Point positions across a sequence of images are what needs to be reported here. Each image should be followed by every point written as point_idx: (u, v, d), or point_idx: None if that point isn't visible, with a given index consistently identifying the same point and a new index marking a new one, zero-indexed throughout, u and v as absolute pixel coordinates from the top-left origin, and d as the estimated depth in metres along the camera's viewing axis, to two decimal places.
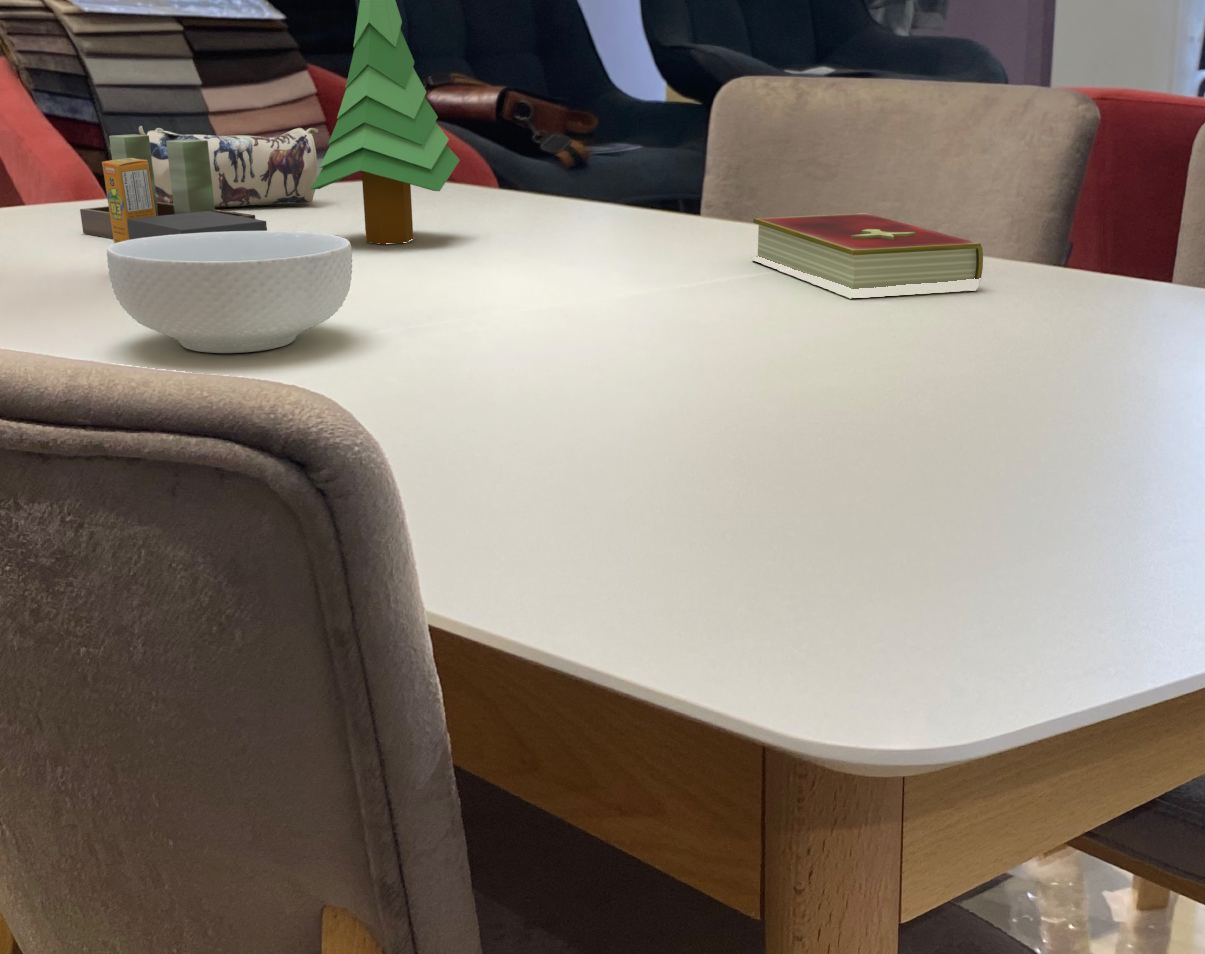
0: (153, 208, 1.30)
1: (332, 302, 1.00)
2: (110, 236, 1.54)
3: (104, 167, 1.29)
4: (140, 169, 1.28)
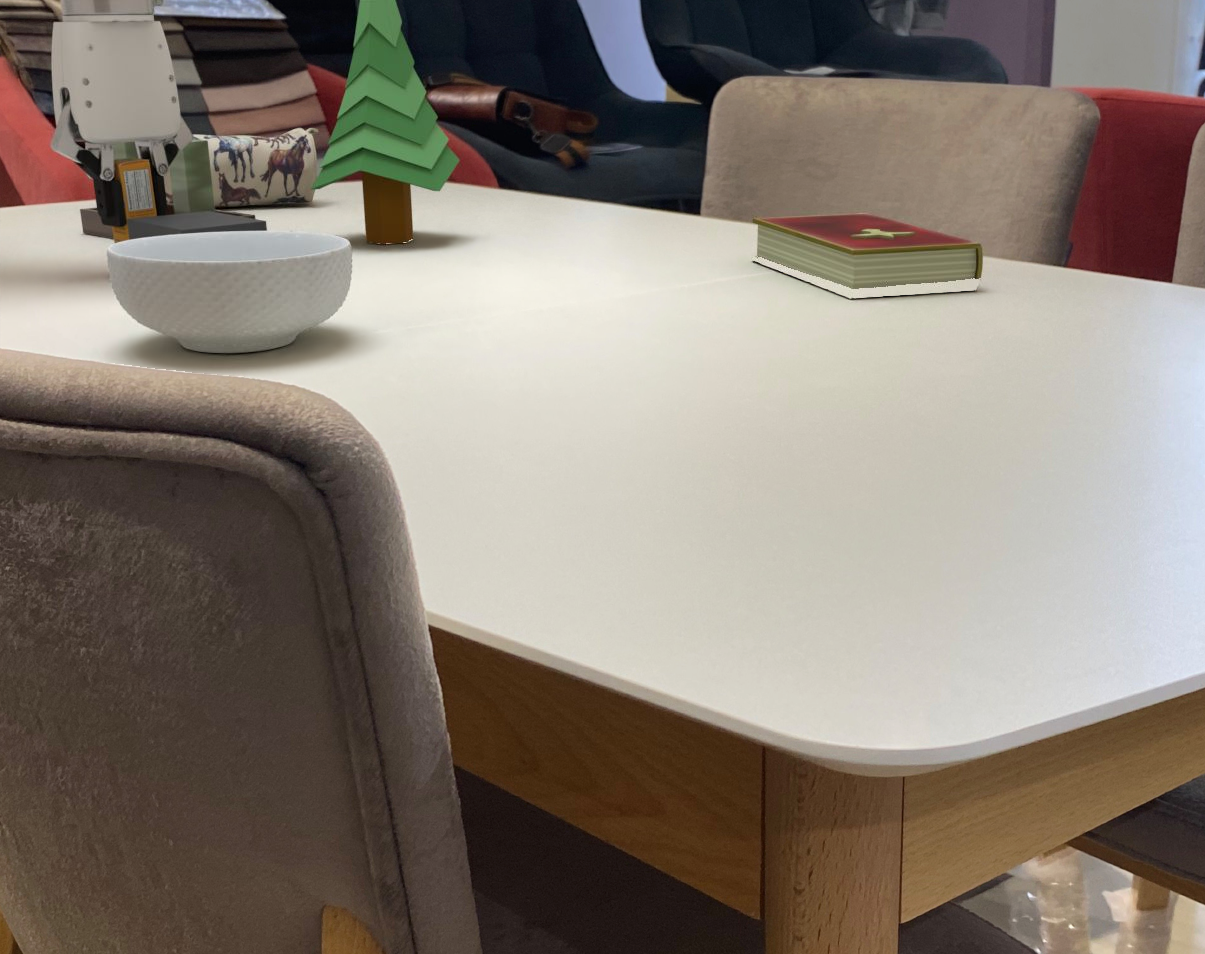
0: (154, 208, 1.30)
1: (332, 302, 1.00)
2: (110, 236, 1.54)
3: None
4: (141, 169, 1.28)
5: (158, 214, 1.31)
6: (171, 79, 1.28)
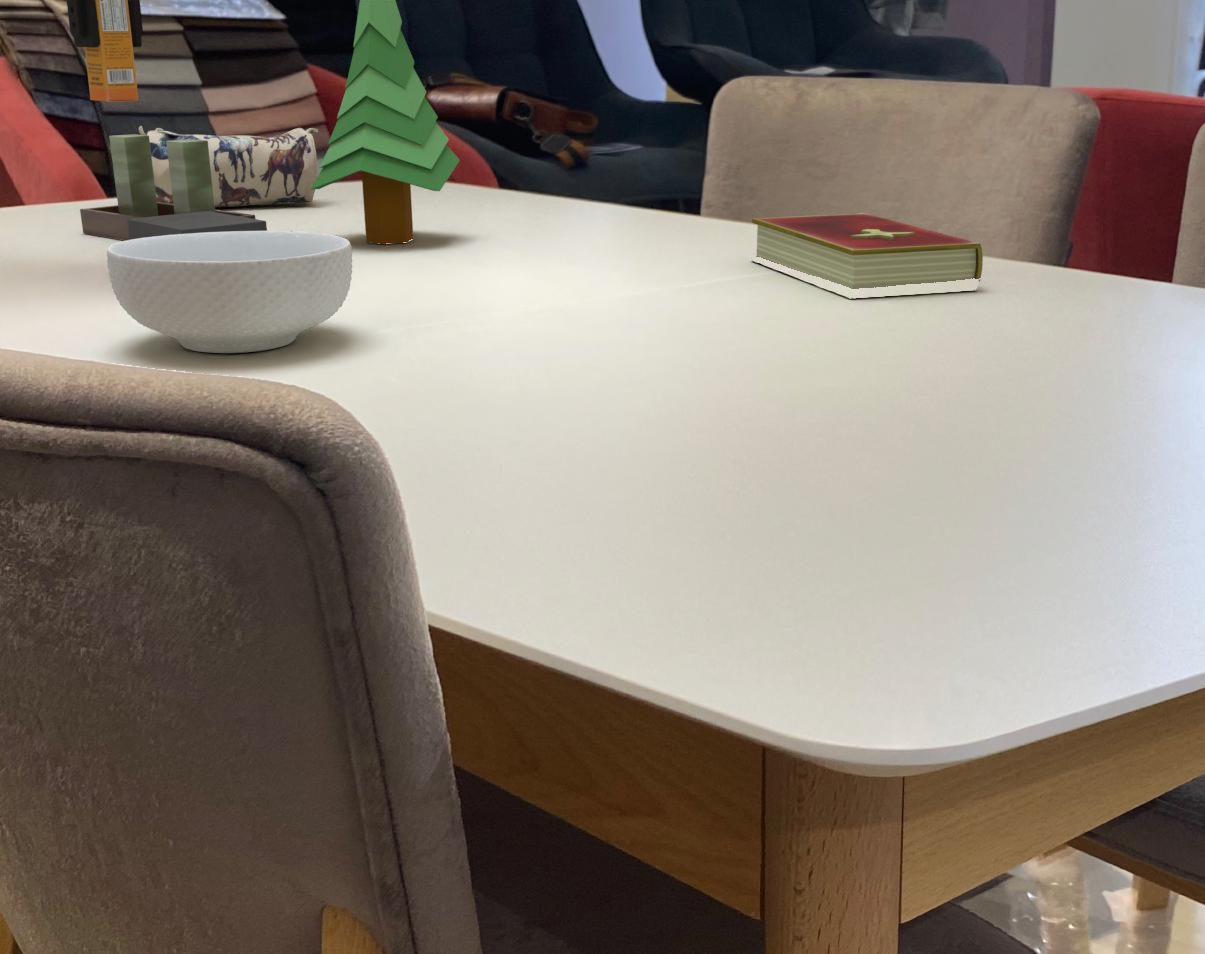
0: (129, 31, 1.25)
1: (332, 302, 1.00)
2: (110, 236, 1.54)
3: None
4: None
5: (133, 38, 1.26)
6: None
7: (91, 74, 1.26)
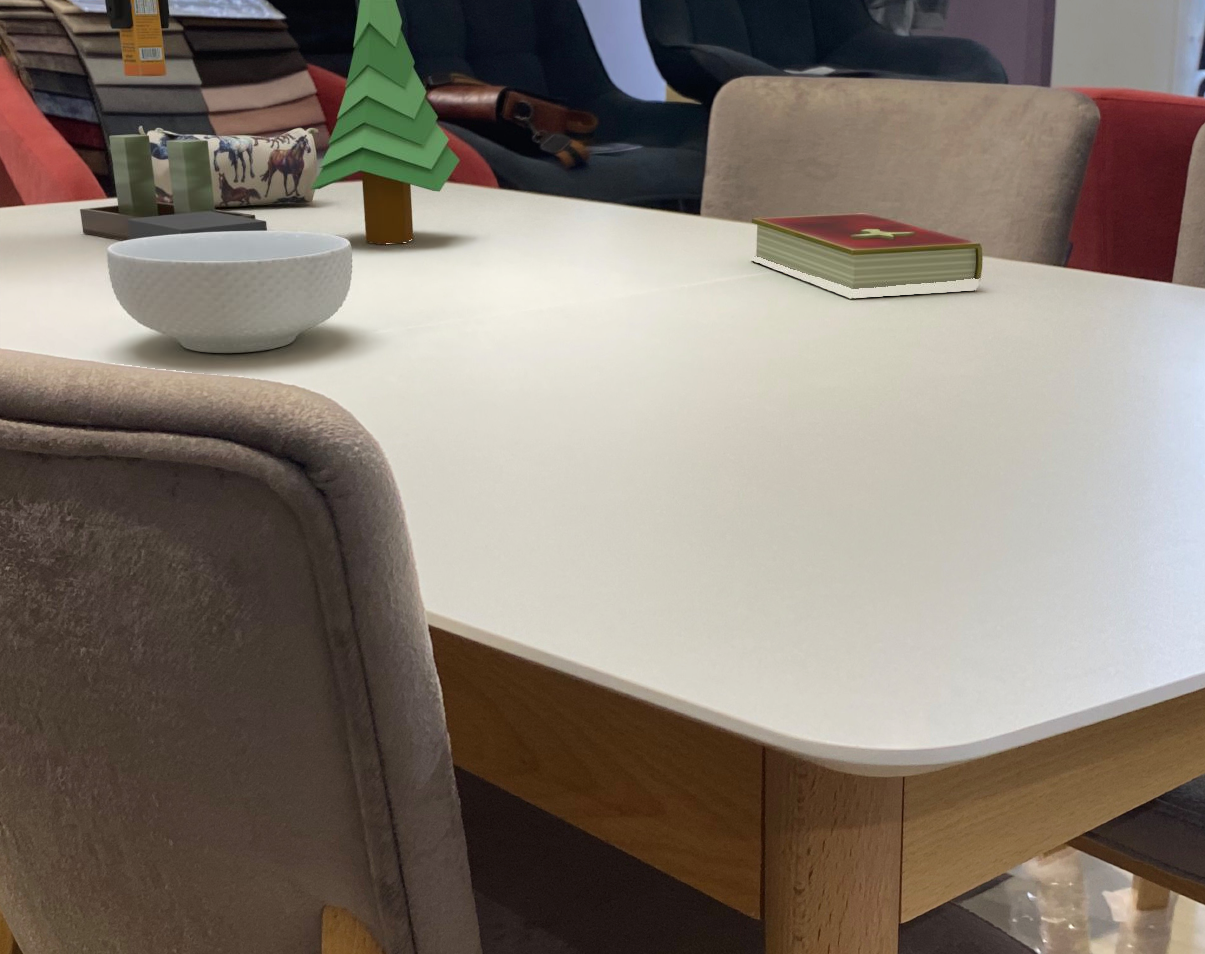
0: (158, 14, 1.44)
1: (332, 302, 1.00)
2: (110, 236, 1.54)
3: None
4: None
5: (161, 20, 1.44)
6: None
7: (125, 52, 1.45)
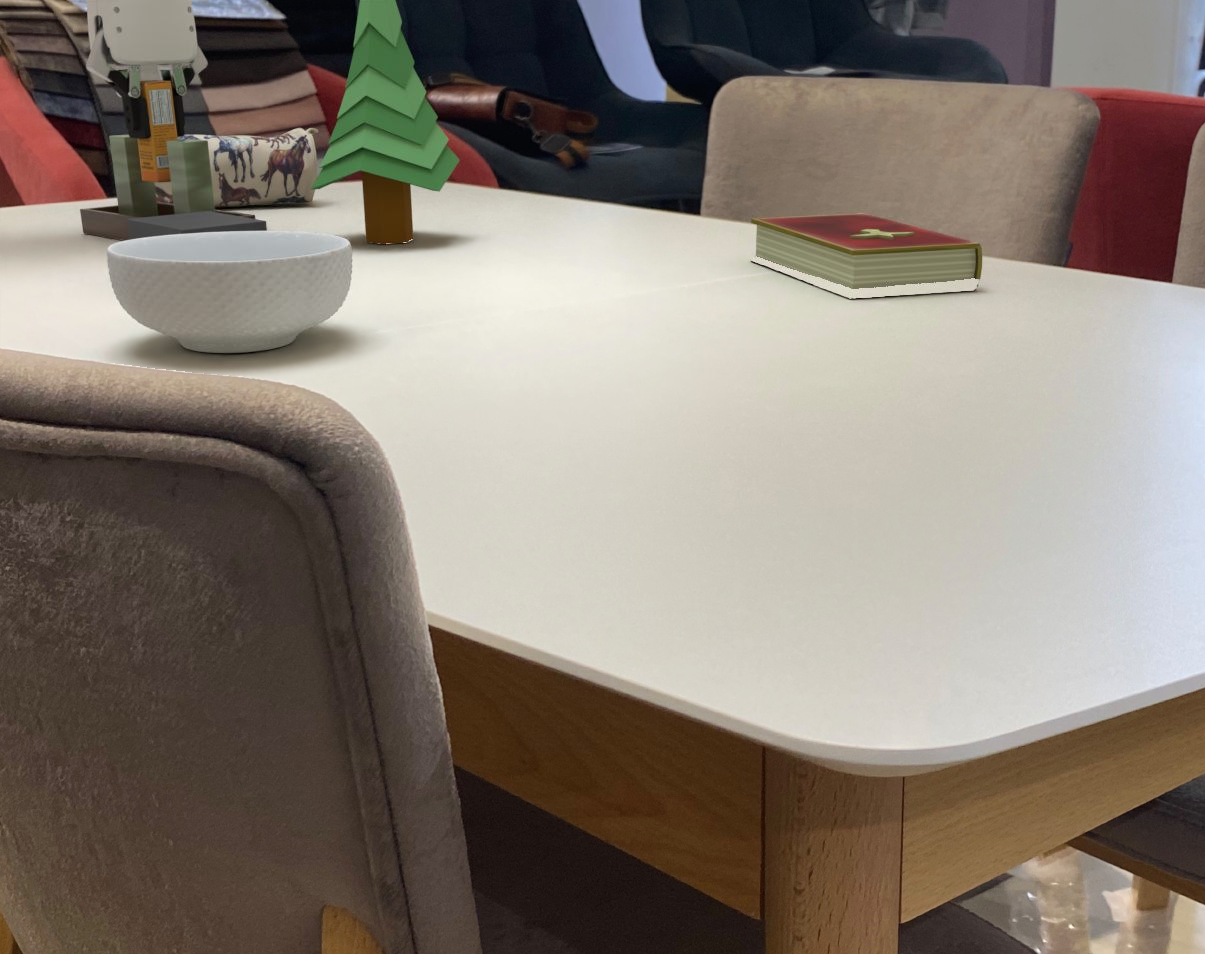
0: (174, 123, 1.50)
1: (332, 302, 1.00)
2: (110, 236, 1.54)
3: None
4: (164, 89, 1.48)
5: (177, 129, 1.51)
6: (189, 10, 1.48)
7: (143, 159, 1.51)
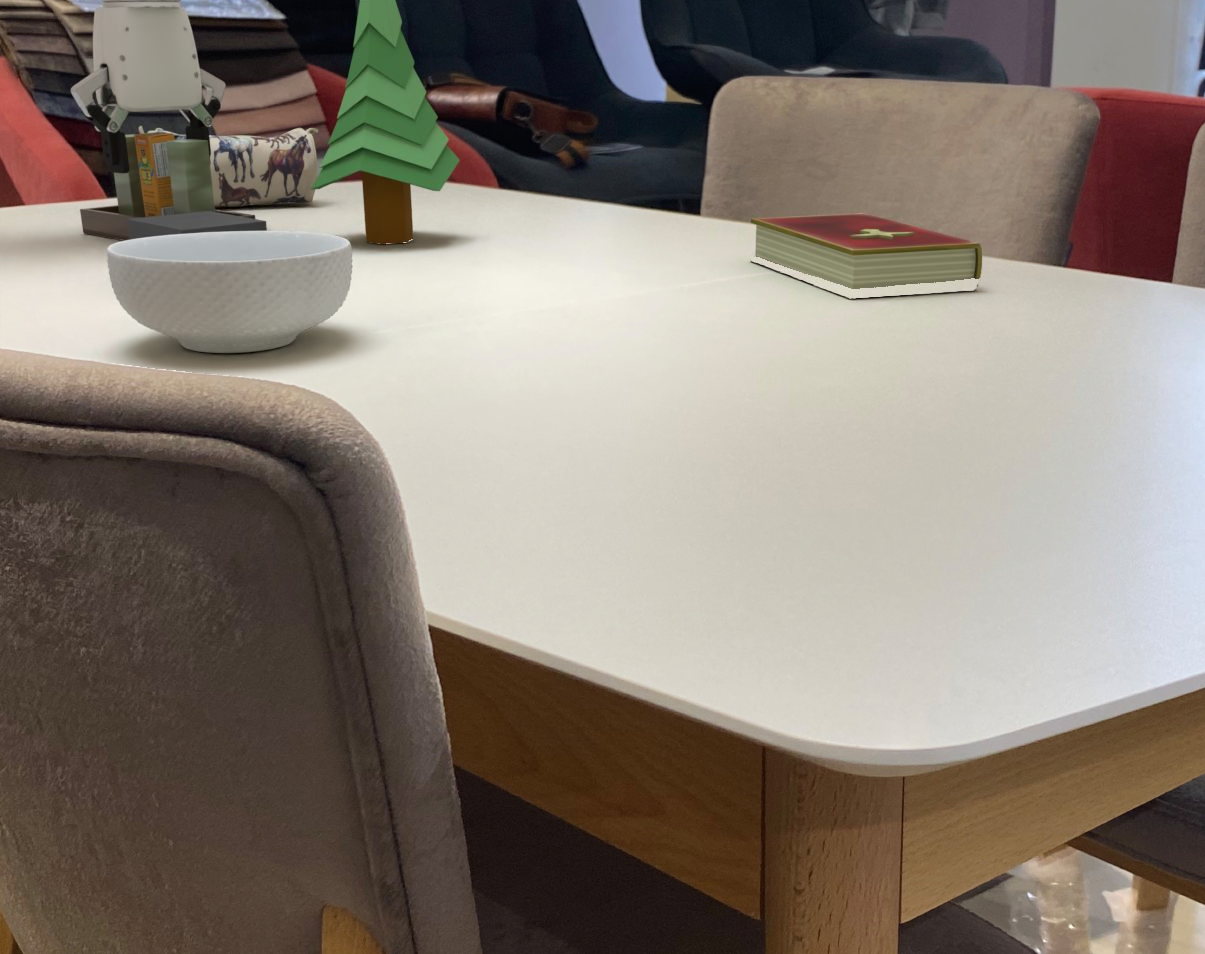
0: None
1: (332, 302, 1.00)
2: (110, 236, 1.54)
3: (136, 139, 1.50)
4: None
5: None
6: (194, 57, 1.50)
7: (148, 211, 1.53)
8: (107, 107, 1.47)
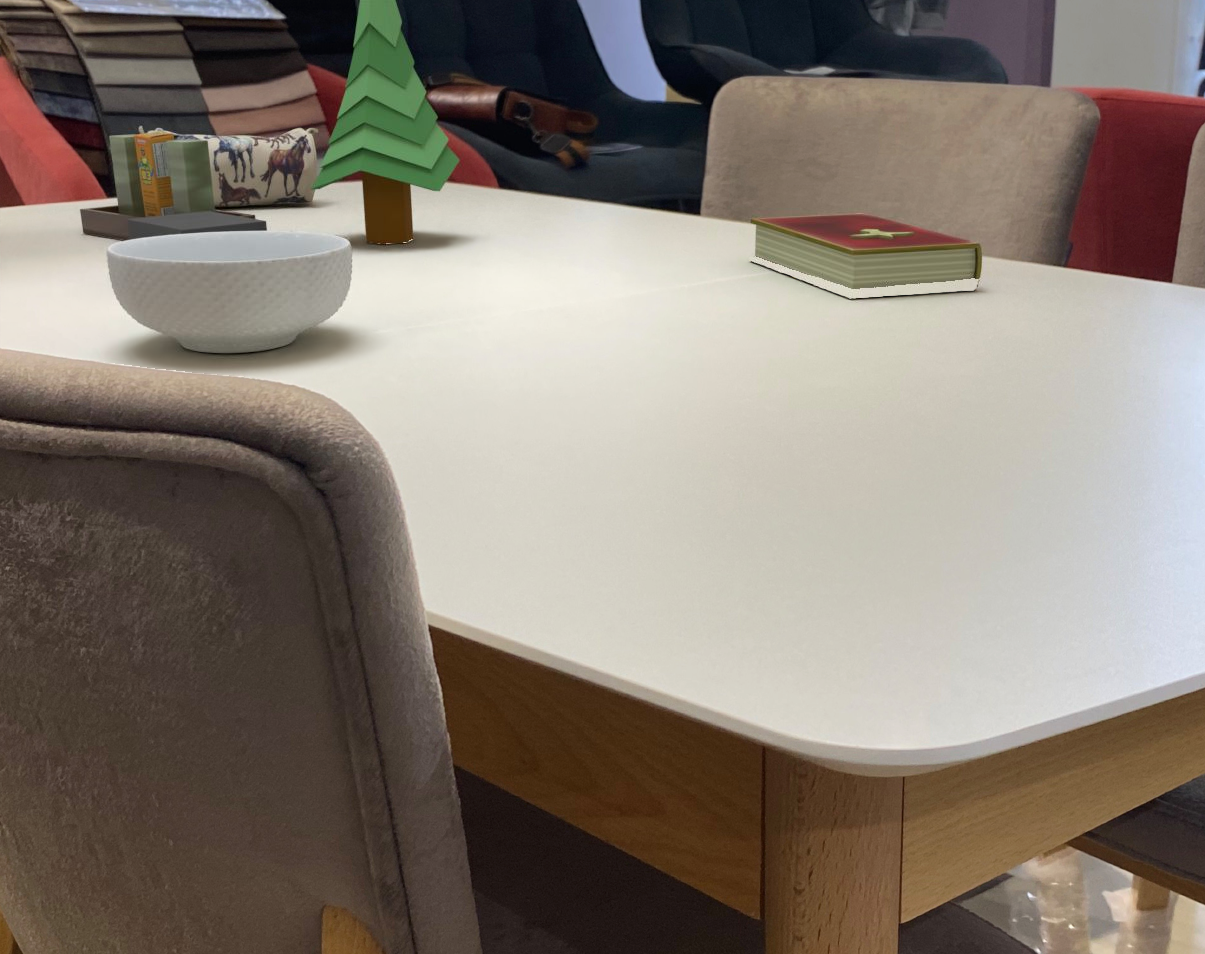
0: None
1: (332, 302, 1.00)
2: (110, 236, 1.54)
3: (136, 139, 1.50)
4: None
5: None
6: None
7: (148, 211, 1.53)
8: None
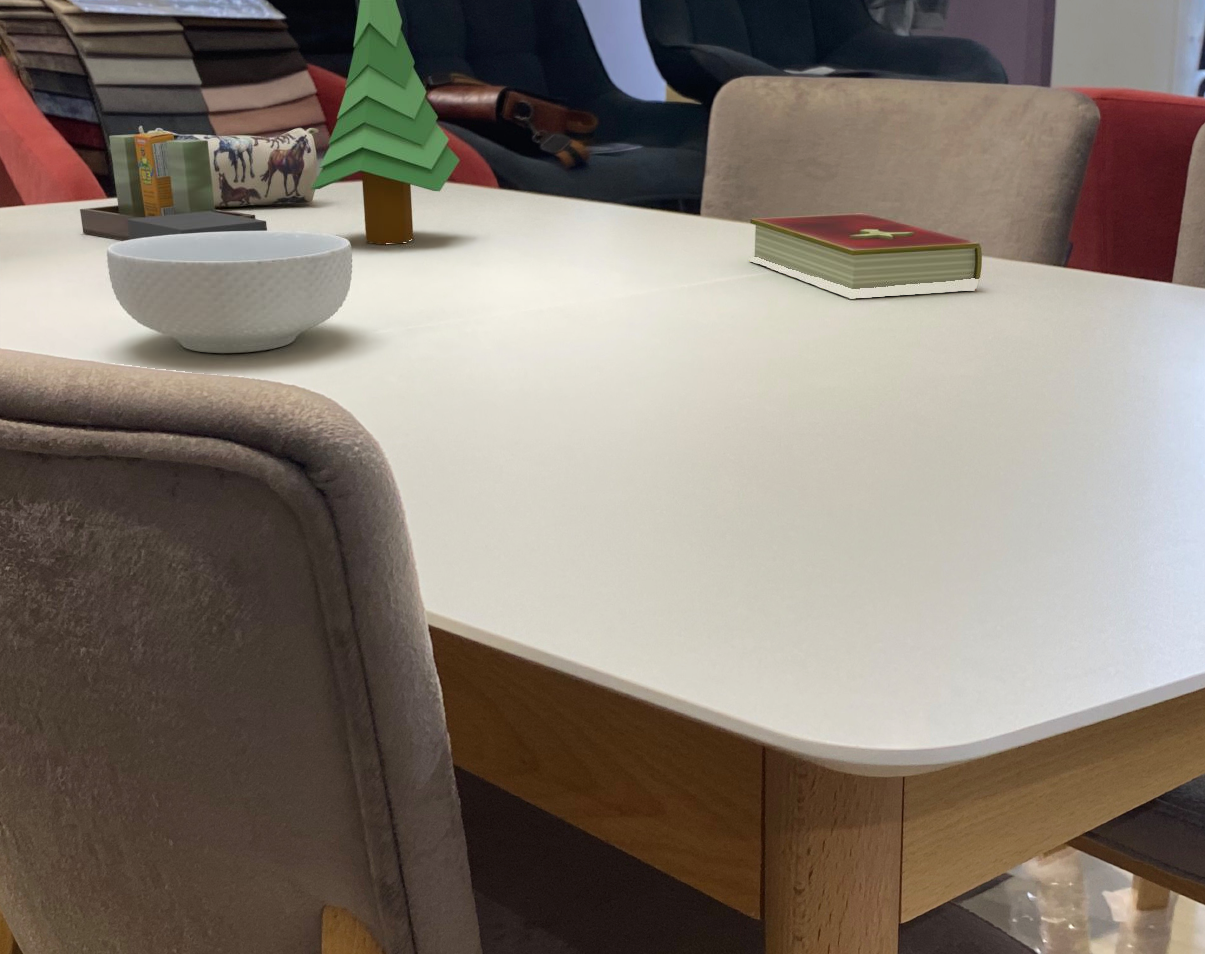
0: None
1: (332, 302, 1.00)
2: (110, 236, 1.54)
3: (136, 139, 1.50)
4: None
5: None
6: None
7: (148, 211, 1.53)
8: None
